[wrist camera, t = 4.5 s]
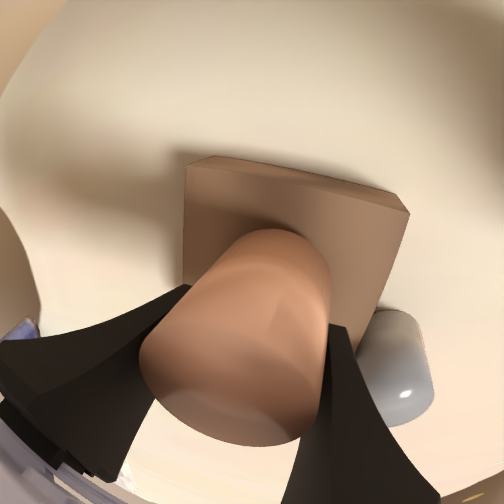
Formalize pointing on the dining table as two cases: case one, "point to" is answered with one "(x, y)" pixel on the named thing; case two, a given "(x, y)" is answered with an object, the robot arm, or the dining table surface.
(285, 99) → the dining table surface
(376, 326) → the rounded grey cylinder
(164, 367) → the tan rounded cylinder
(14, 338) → the flask
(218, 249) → the walnut plinth
